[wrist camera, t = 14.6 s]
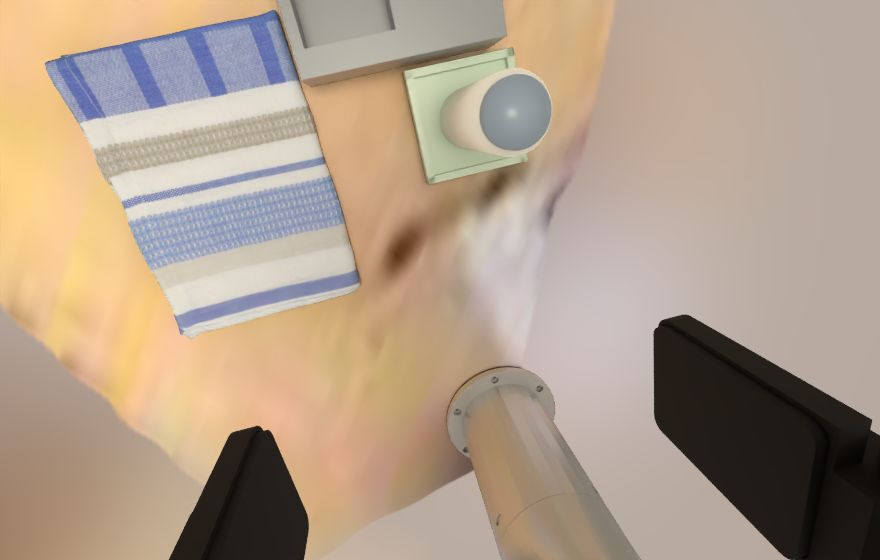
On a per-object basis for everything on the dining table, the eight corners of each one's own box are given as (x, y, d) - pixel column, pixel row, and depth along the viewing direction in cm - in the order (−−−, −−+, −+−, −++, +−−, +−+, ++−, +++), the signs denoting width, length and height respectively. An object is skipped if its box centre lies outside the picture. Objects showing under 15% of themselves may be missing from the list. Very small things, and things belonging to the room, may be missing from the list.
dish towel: (187, 332, 39) (174, 346, 36) (52, 57, 30) (22, 51, 28) (365, 288, 40) (365, 299, 38) (285, 13, 32) (277, 2, 29)
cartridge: (498, 141, 36) (562, 147, 24) (446, 154, 36) (483, 166, 24) (489, 82, 34) (553, 57, 22) (434, 94, 34) (469, 76, 22)
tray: (521, 159, 38) (527, 160, 36) (426, 182, 37) (429, 184, 36) (506, 51, 34) (513, 47, 33) (402, 73, 34) (404, 71, 32)
